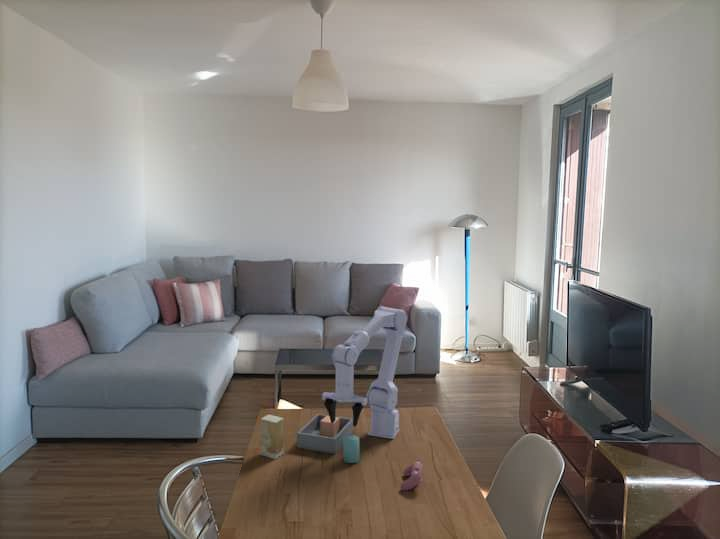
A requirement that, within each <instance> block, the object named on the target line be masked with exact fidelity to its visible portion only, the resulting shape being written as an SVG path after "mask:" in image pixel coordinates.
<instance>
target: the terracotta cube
mask: <svg viewBox="0 0 720 539" xmlns="http://www.w3.org/2000/svg"><path fill="white" fill-rule="evenodd" d="M337 417H338V416H337ZM337 417H336V418H335V421H334V422H333V423H331V420H330V416H326V417H324V418H323V419H322V420H321V421H320V435H323V436H329V437H335V436H336V435H337V434H338V433H339V430H340V418H337Z"/></svg>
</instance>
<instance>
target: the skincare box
mask: <svg viewBox="0 0 720 539" xmlns="http://www.w3.org/2000/svg"><path fill="white" fill-rule="evenodd" d="M284 428H285V418H284V417H280V416H279V415H278V416H276V415H272V414H267V415H264V416H263V417H261V418H260V456H263V457H267V458H270V459H274V460H277V459H278V458H280V457H281V456H282V454H283V455H284V438H285V437H284V436H285V435H284V432H285V430H284ZM279 456H280V457H279ZM276 458H277V459H276Z"/></svg>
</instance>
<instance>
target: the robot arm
mask: <svg viewBox="0 0 720 539" xmlns="http://www.w3.org/2000/svg"><path fill="white" fill-rule="evenodd" d="M407 321H408V315H407V313H406V311H405V310H404V309H398V308H392V307H387V306H383V305H381V306H378V307H377V309H376V310H374V313H373V317H372V318H371V320H370V321H369V322H368V323H367V324H366V325H365V327H364V328H363V329H362V330H355V331H354V332H353V334H352V335H351V336H350V337H349V338H347V339H346V340H345V341H344V343H342V344H338V345H336V346H335V347H334V348H333V349H332V350H333V351H332V354H331V359H332V361H333V366H334V368H335V392H325V391H324V392H323V393H322V394H321V396H322V397H321V399H322V401H324V403H323V404H324V408H326V411H327V413H328V415H329V416H330V420H331V423H333V422H334V421H335V418H336V407H337V402H338V403H349V404H353V405H352V406H351V409H352V415H353V416H352V419H353V426H354V427H356V426H357V425H358V423H359V419H360V416H361V412H362V410H363V408H364V406H366V405H367V404H369V407H370V408H371V410H370V411H371V415H370V416H371V418H370V419H371V421H370V422H371V425H370V429H369V431H368V432H367V434H366V435H367V436H373V437H378V438H385V439H392V440H394V439H395V438H396V436H397V435H398V434H399V431H400V427H399V426H400V412H399V410H397V409H395V408H396V407H397V404H398V399H399V398H398V393H399V389H398V387H397V386H396V385H395V383H394V378H395V374H396V369H397V363H398V360H399V354H400V350H401V345H402V341H403V336H404V334H405V333H406V332H405V331H406V328H407V323H408V322H407ZM380 330H383V331H385V333H386V339H385V344H384V350H383V354H382V358H381V363H380V368H379V372H378V375H377V376H378V377H377V379H375V380H374V381H371V383H370V386H369V389H368V391H367V393H366V397H364V396H359V395H357V394H354V386H355V385H354V377H355V376H354V373H355V371H354V370H355V369H354V368H355V364H356V363H357V361H358V358H359V356H360V354H361V352H362V351H363V350H364V349H365V348H366V347H367V346H368V345H369V344H370V339H371V338H372V337H373V336H374V335H375V334H376V333H378V332H379V331H380Z"/></svg>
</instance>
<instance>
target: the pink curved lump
mask: <svg viewBox="0 0 720 539" xmlns="http://www.w3.org/2000/svg"><path fill="white" fill-rule="evenodd" d="M423 467H424V464H423V463H422V462H420V461H415V462H413V463H412V464H411V465H409V466H407V467H406V468H405V469H404V470H403V476H405V477H408V478H407V479H406V480H403V482H401V484H400V489H401V491H410V490H412V489H413V488H414V487H416V486H417V485H418V484H419V483H420V484H421V483H422V482H423V478H422V471H423V469H424V468H423Z"/></svg>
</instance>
